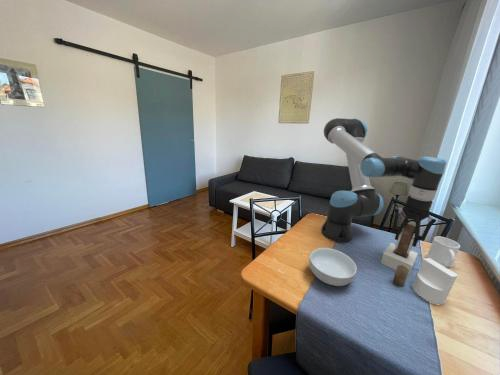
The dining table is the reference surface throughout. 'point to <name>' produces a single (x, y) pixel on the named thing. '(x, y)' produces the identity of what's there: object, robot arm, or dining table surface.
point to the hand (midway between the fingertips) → (402, 249)
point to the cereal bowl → (332, 266)
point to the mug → (443, 251)
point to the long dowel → (405, 240)
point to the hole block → (398, 258)
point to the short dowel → (400, 276)
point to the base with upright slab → (434, 281)
